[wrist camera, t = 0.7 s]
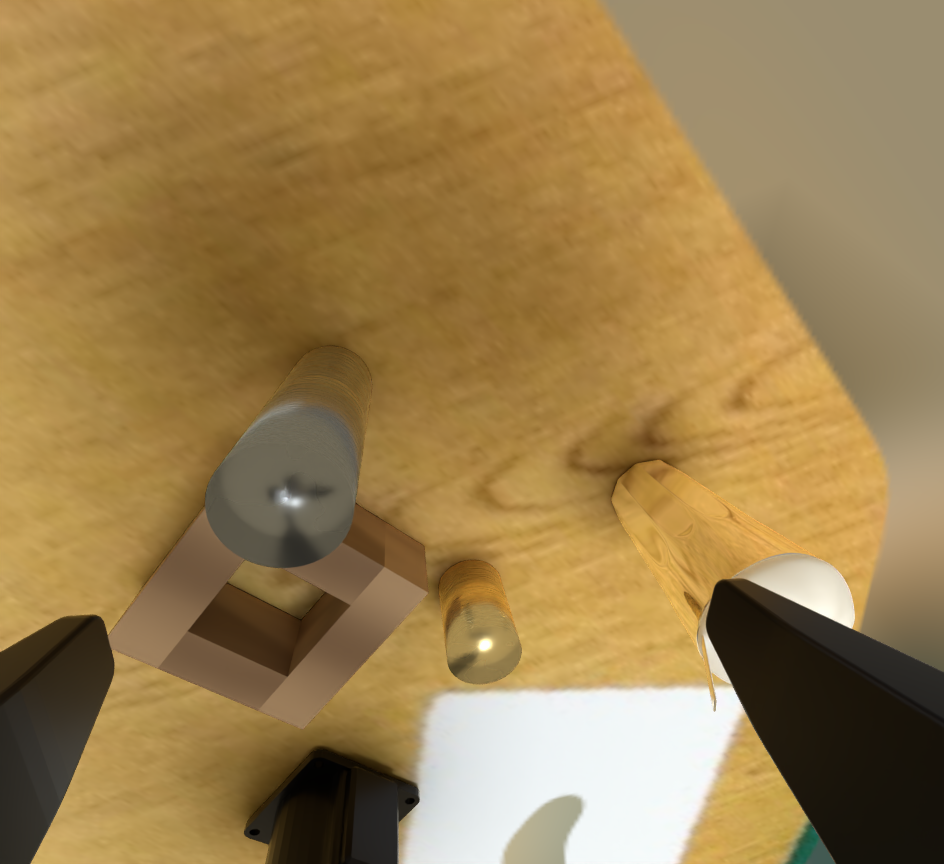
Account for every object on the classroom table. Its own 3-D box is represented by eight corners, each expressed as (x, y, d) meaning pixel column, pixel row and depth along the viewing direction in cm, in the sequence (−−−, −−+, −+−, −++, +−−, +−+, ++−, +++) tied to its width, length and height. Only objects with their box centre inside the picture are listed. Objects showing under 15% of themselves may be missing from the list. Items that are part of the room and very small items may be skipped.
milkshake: (576, 457, 21) (721, 634, 12) (698, 436, 21) (931, 591, 12) (579, 548, 22) (708, 767, 13) (693, 527, 23) (893, 724, 14)
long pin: (342, 434, 19) (301, 590, 11) (276, 390, 18) (176, 523, 10) (387, 377, 18) (382, 495, 10) (322, 329, 17) (257, 415, 9)
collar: (313, 669, 23) (302, 729, 20) (141, 588, 20) (101, 644, 17) (424, 546, 21) (428, 592, 18) (253, 440, 19) (229, 476, 16)
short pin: (473, 621, 23) (488, 694, 19) (425, 593, 22) (432, 664, 19) (513, 579, 23) (536, 646, 19) (466, 549, 22) (481, 613, 18)
